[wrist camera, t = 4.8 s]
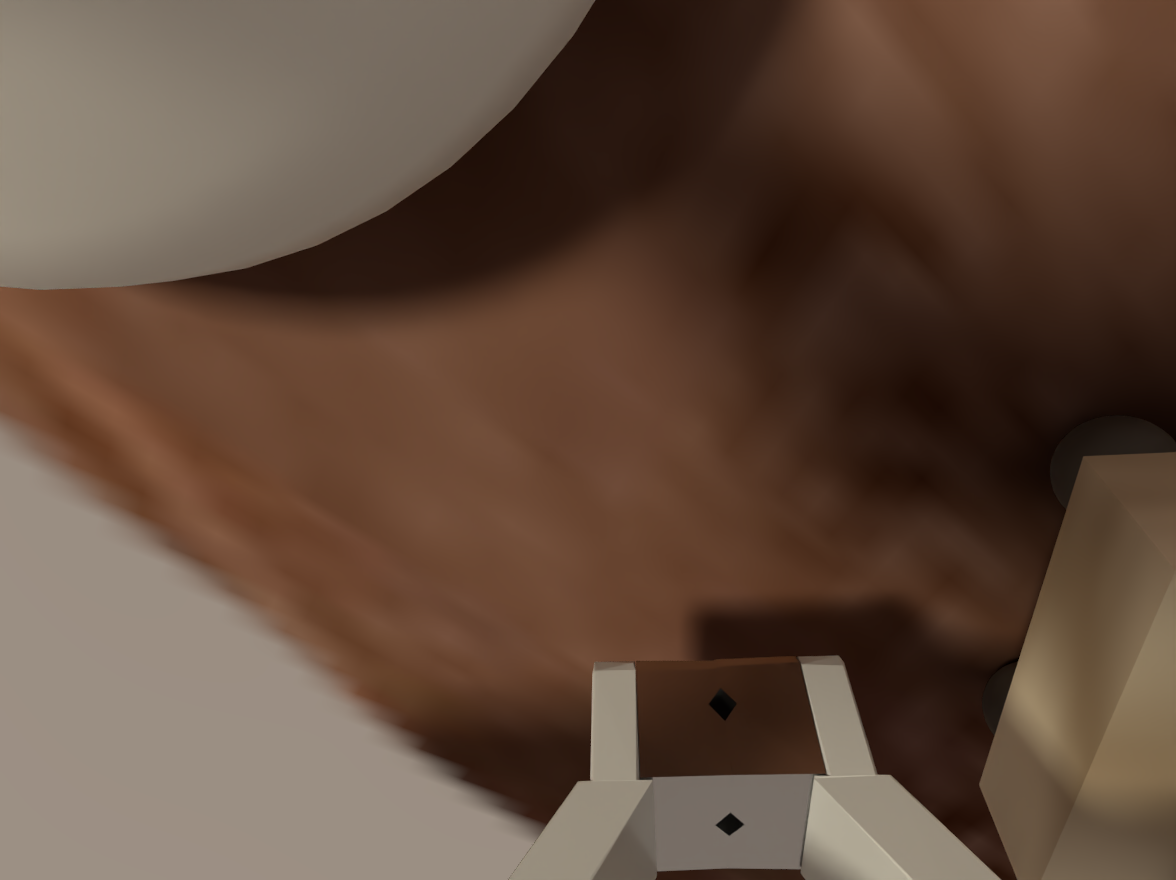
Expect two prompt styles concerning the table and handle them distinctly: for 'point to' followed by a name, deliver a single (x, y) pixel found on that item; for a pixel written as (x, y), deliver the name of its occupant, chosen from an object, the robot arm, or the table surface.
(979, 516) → the table surface
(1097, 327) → the table surface
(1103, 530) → the cart
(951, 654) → the table surface
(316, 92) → the flower in vase
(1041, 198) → the table surface
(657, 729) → the robot arm
